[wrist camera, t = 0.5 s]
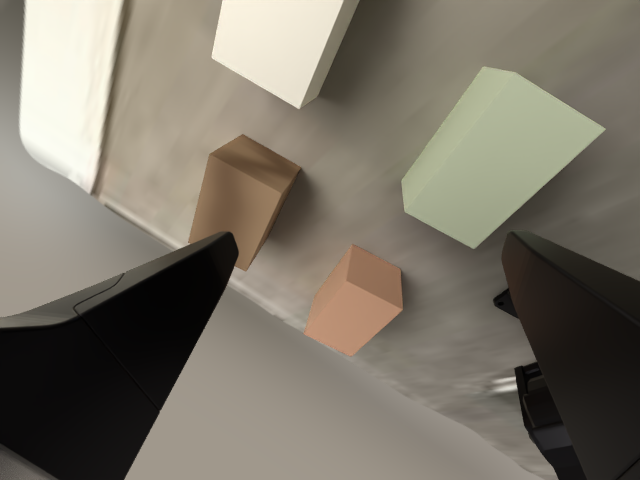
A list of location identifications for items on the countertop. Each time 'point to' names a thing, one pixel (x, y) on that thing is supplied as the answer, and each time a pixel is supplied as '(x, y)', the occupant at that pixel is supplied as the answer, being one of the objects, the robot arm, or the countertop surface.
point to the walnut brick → (243, 195)
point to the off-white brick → (282, 43)
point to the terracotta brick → (355, 301)
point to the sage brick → (493, 155)
